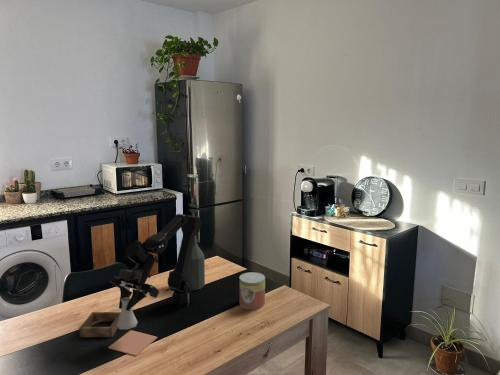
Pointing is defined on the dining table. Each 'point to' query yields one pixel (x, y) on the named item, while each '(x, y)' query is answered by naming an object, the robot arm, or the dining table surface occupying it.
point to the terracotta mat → (133, 343)
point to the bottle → (196, 267)
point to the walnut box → (100, 331)
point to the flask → (126, 316)
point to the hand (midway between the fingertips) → (123, 309)
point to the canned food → (252, 290)
